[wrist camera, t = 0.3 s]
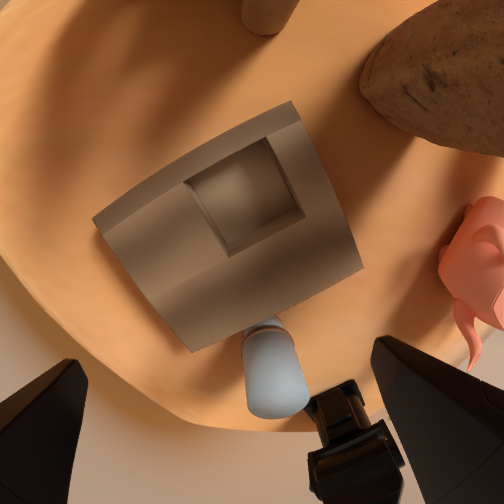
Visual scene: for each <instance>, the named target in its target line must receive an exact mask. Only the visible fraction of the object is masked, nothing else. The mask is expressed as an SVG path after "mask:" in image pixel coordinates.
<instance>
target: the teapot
mask: <svg viewBox="0 0 504 504" xmlns="http://www.w3.org/2000/svg"><path fill="white" fill-rule="evenodd" d="M463 220H464V221H463V223H462V224H461V226H460V227H459V229H458V231H457V232H456V234H455V236H454V238H453V239H452V241H451V243H450V245H445V246H443V247H442V248H441V250H440V252H439V255H438V261H439V263H440V264H439V267H438V274H439V276H440V278H441V280H442V282H443V283H444V285H445V286H446V288H447V289H448V291H449V292H450V293H451V295H452V296H453V297H454V298H455V299H456V301H455V305H454V316H455V321H456V324H457V326H458V328H459V330H460V331H461V333H462V335H463V336H464V338H465V339H466V341H467V343H468V345H469V349H470V361H469V366H468V368H467V372H469V371H470V370H471V369H472V368H473V367H474V365H475V364H476V362H477V361H478V359H479V357H480V354H481V351H482V344H481V340H480V338H479V336H478V334H477V333H476V331H475V329H474V324H473V323H474V318H475V317H477V318H478V319H480V320H481V321H483V322H485V323H487V324H489V325H491V326H493V327H495V328H497V329H499V330H502V331H504V201H503V200H501V199H499V198H496V197H491V196H489V197H482V198H480V199H479V200H478V201H477V202H476V204H475V205H474V206H468V207H467V208H466V209H465V211H464V215H463Z"/></svg>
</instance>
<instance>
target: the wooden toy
mask: <svg viewBox="0 0 504 504" xmlns="http://www.w3.org/2000/svg"><path fill="white" fill-rule="evenodd" d="M299 1H300V0H243V3H242V9H241V16H240V17H241V22H242V24H243V25H244V26H245V28H247V29H248V30H249V31H251V32H253V33H255V34H258V35H272V34H275V33H278V32H280V31H281V30H282V29H283V28H284V27H285V25H286V23H287V22H288V20H289V18H290V16H291V14H292V13H293V11H294V9H295V7H296V6H297V4H298V2H299Z"/></svg>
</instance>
